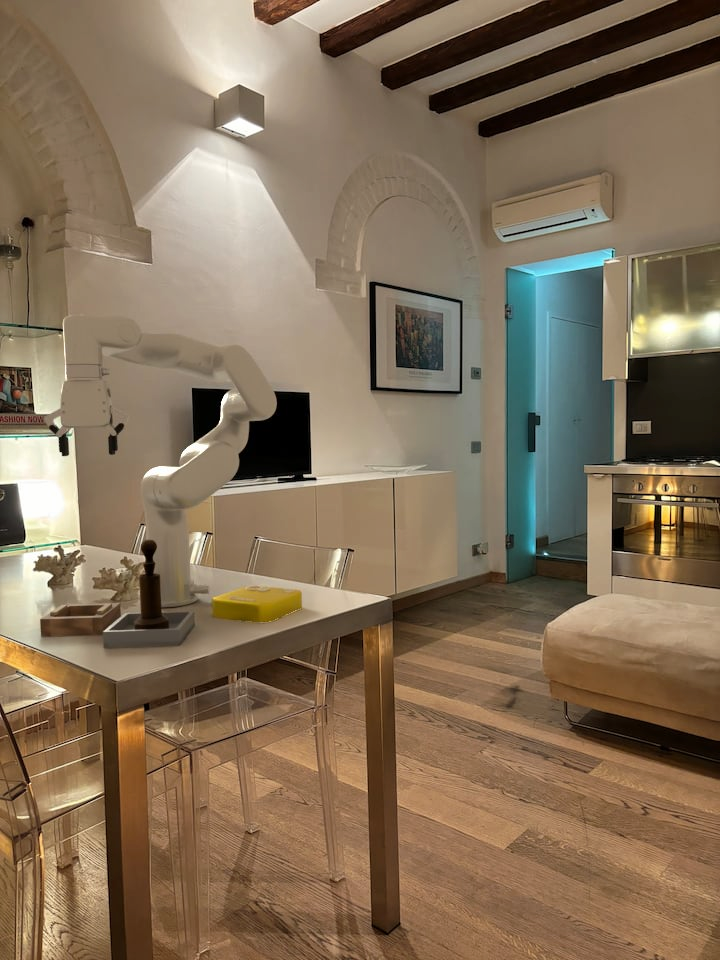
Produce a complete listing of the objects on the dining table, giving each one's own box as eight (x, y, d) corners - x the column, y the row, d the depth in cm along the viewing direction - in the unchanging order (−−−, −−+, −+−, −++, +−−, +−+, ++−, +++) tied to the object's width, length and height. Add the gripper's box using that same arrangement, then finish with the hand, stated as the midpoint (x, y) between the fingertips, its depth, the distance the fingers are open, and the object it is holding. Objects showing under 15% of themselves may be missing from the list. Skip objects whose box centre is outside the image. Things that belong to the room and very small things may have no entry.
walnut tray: (121, 619, 155) (120, 600, 155) (102, 634, 143) (101, 614, 143) (64, 620, 155) (63, 601, 155) (40, 636, 143) (39, 616, 143)
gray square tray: (195, 625, 149) (194, 610, 149) (180, 645, 135) (179, 629, 135) (125, 627, 148) (125, 613, 148) (103, 647, 134) (102, 631, 134)
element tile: (208, 618, 156) (207, 596, 155) (250, 603, 169) (249, 582, 168) (266, 626, 149) (266, 602, 148) (305, 609, 162) (305, 588, 162)
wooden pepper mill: (137, 627, 145) (134, 537, 143) (171, 626, 145) (168, 536, 144) (131, 637, 138) (127, 542, 137) (166, 635, 139) (163, 541, 138)
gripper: (130, 375, 160) (133, 453, 161) (47, 376, 158) (52, 456, 159) (123, 372, 152) (127, 454, 153) (36, 374, 150) (41, 457, 151)
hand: (89, 455), depth 156 cm, fingers open, 9 cm apart
